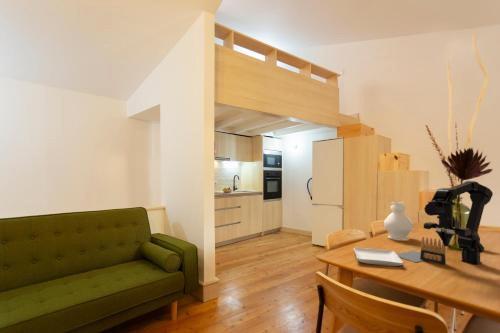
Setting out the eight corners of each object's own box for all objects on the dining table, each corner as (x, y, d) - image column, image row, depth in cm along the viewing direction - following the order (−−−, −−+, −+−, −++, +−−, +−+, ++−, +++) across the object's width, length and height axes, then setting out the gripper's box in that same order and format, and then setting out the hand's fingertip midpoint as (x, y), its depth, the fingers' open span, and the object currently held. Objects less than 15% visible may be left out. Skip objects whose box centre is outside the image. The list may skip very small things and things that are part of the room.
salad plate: (393, 255, 148) (393, 249, 148) (404, 269, 127) (404, 262, 127) (352, 252, 154) (352, 246, 154) (357, 265, 133) (357, 258, 133)
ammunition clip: (445, 263, 134) (446, 239, 134) (445, 264, 132) (445, 240, 132) (420, 258, 141) (421, 235, 141) (420, 259, 139) (420, 236, 139)
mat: (437, 257, 143) (437, 257, 143) (415, 262, 136) (415, 262, 136) (413, 251, 155) (413, 250, 155) (392, 255, 147) (392, 254, 147)
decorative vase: (392, 234, 197) (391, 200, 197) (418, 239, 182) (417, 202, 183) (379, 237, 187) (378, 201, 187) (405, 243, 172) (405, 204, 173)
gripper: (477, 215, 126) (477, 248, 126) (435, 210, 143) (436, 239, 143) (463, 217, 121) (464, 252, 121) (422, 212, 138) (423, 242, 138)
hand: (446, 246), depth 131 cm, fingers closed
